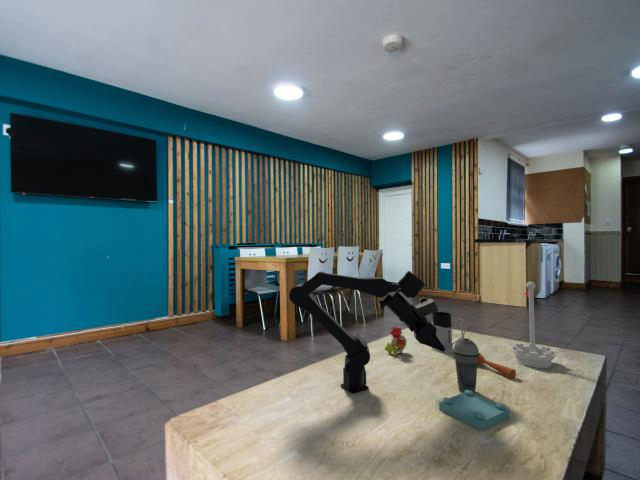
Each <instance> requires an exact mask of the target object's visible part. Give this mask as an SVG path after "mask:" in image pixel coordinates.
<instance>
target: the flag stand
mask: <svg viewBox="0 0 640 480" xmlns="http://www.w3.org/2000/svg"><path fill="white" fill-rule="evenodd" d="M525 287H526V288H527V289H528V290H527V291H526V292H525V293H524V295H525V296H526V297H527V298H528V311H529V312H528V313H529V314H528V315H529V342H528V344H527V345H524V343H522V342H518V343H515V344H513V345H512V353H513V355H514V356H515V361H516V362H517V363H518V364H521V365H523V366H525V367H526V366H527V367H530V368H537V369H546V368H551V367H552V361H553V360H554V359H555V358H556V357H555V349H551V347H549V346H547V345H542V346H541V347H537V344H536V336H535V335H536V332H535V325H536V324H535V302H534V301H535V298H534V296H535V295H534V290H535V289H536V283H535V282H534V281H528V282H526V285H525Z"/></svg>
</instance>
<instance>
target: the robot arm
mask: <svg viewBox="0 0 640 480" xmlns="http://www.w3.org/2000/svg"><path fill="white" fill-rule="evenodd" d="M321 286H328V287H336V288H342V289H349V290H356V291H359V292H363V293H365V294H367V295H369V296H370V295H371V296H373V297H375V298H383V299H378V303H379V306H378V308H379V309H380V310H384V308H385V307H387V309H389V310H390V312H391V313H393V314H394V315H395V317H396V318H398V320H399V321H400V322H401V323H403V324H404V325H405V326H406V327H407V328H408V330H409V331H410V332H413V337H414V339H415V340H416V341H417V342H418V343H419V344H420V345H424V346H428V347H431V348H435V349H437V350H440V351H442V352H441V353H444V351H445V350H446V349H445V347H444V346H443V345H442V343H441V342H440V340H439V339H438V337H437V336H436V332H437V328H436V327H435V326H434V325H433V324H432V321H429V320H428V319H427V316H428V315H432V313H433V312H440V311H439V310H440V309H439V308H438V305H437V304H436V301H435V300H434V299H433V298H428V299H426V298H425V297H424V296H423V297H421V298H419V303H418V304H417V305H414V304H413V303H410V302H409V301H408V300H407V299H414V298H415V297H416V296H417V295H419V293H420V292H421V291H423V289H424V288H425V287H426V286H427V285H426V284H425V282H424V281H422V279H420V277H417V276H416V275H415V274H414V273H413V272H412V271H410V270H407V271H406V273H405V274H404V275H403V276H402V277H401V278H400V280H399V281H398V282H395V281H388V280H386V279H385V278H384V277H381V276H370V277H369V276H368V277H357V276H349V275H343V274H337V273H330V272H329V273H328V272H325V271H318V272H316V274H314V276H312V277H311V278H310V279H309V280H307V281H305V282H304V283H299V284H296V285H295V286H294V287H292V288H291V289H290V291H289V293H288V295H289V296H288V297H289V301H290V302H291V303H292V304H293V305H295V306H296V307H298V308H299V309H301V310H303V311H305V312H307V313H309V314H310V315H311V316H312V317H313V318H314V319H315V320H316V321H317V323H319V324H320V325H321V326H322V327H323V328H324V329H325V330H326V331H327V332H328V333H329V334H330V335H331V336H332V337H333V338H334V339H335V340H336V341H337V342H338V343H339V344H340V345H341V346H342V348H343V349H344V352H345V353H346V355H345V356H344V367H343V368H342V370H343V372H342V373H343V375H342V377H343V381H342V383H341V384H340V387H341V388H342V389H345V390H346V391H348V392H349V393H351V394H355V393H358V392H362V391H365V390H368V389H370V388H369V387H370V386H368V385H367V371H366V365H368V364H369V362H370V361H371V354H370V348H369V345H368V342H367V341H366V340H365V339H363V338H362V336H361V335H360V334H359V333H356V335H352V334H351V333H350V332H349V331H347V329H345V328H344V327H343V326H342V325H341V324H340V323H339V321H337V320H336V319H335V318H334V317H333V316H332V315H331V314H330V313H329V312H328V311H327V310H326V309H325V308H324V307H323V306H322V305H321V304H320V302H318V300H317V299H316V297H315V294H313V292H314V291H316V290H317V289H318V288H319V287H321ZM390 293H391V294H390ZM403 295H404V296H405V297H406V298H405V297H404V296H403Z"/></svg>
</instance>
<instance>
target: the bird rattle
mask: <svg viewBox="0 0 640 480" xmlns="http://www.w3.org/2000/svg"><path fill="white" fill-rule="evenodd" d="M389 334H390V335H391V336H392V339H391V340H390V342H387V344H386V346H385V347H384V350H385V351H386V352H387V353H388V354H389V353H390V354H393V356H397V355H398V356H399V353H401V352H402V353H403V351H404V350H405V348H407V347H406V346H407V343H408V342H407V338H406V337H405V336H404V334H403V331H402V328H401V327H395V326H392V330H390V331H389Z"/></svg>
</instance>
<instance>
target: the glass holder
mask: <svg viewBox="0 0 640 480" xmlns="http://www.w3.org/2000/svg"><path fill="white" fill-rule="evenodd" d="M431 317H432V318H431V323H432V324H433V325H434V326H435V327H436V328H437V332H436V336H437V337H438V339H439V340H440V342H441V343H442V345H443V346H444V347H445V349H446V350H445V351H444V352H442V351H440V350H437V349H435V348H432V347H431V348H432V349H431V350H432V351H435V352H439V353H445V354H447V353H454V352H453V350H454V345H455V343H456V342H457V341H458V340H460V339H462V336H461V337H459V338H457V340H455V341H453V330H454V329H455V328H456V326H457V322H458V321H462V322H463V323H464V326H465V328H464V330H463V334H464V335H465V334H466V332H467V322H466V321H465V320H464V319H463V318H458V319H456V320H455V321H454V326H452V314H451V312H450V313H449V312H446V311H437V312H433V313H431Z"/></svg>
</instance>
